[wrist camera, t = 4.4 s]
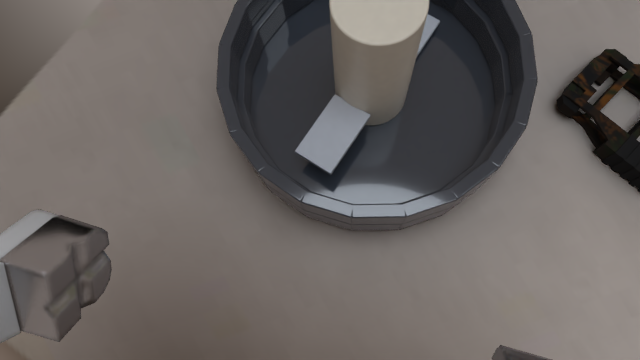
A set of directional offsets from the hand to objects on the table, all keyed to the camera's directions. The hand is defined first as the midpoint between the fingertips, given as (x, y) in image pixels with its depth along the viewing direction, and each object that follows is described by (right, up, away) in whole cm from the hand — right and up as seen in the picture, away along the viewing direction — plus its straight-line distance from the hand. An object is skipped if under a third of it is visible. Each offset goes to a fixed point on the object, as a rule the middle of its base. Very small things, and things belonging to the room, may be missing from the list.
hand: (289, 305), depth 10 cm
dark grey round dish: (+3, +7, +16) cm, 18 cm away
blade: (+3, +7, +16) cm, 18 cm away
